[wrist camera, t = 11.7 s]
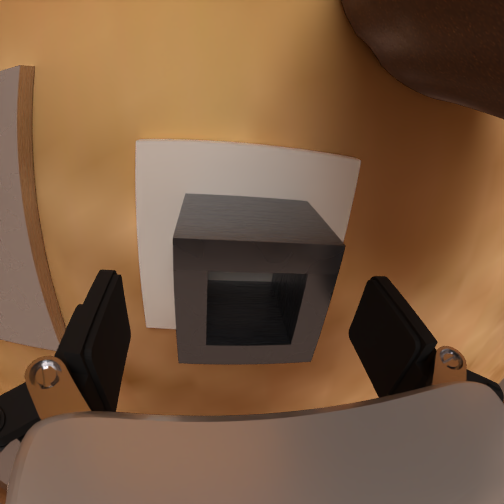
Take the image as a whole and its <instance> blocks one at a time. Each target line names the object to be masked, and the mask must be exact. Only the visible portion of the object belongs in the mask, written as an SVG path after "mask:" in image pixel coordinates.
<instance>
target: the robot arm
mask: <svg viewBox="0 0 504 504" xmlns="http://www.w3.org/2000/svg"><path fill="white" fill-rule="evenodd" d="M130 338H131V331H130V325H129V320H128V315H127V309H126V303H125V297H124V290H123V283H122V277H121V275H117V273H116V271H115V270H100V271H99V273H98V274H97V276H96V278H95V280H94V282H93V284H92V286H91V288H90V290H89V292H88V295H87V297H86V299H85V301H84V303H83V304H79V305H78V306H77V307H76V309H75V311H74V313H73V315H72V317H71V319H70V322H69V324H68V326H67V328H66V330H65V333H64V335H63V337H62V339H61V342H60V344H59V346H58V349H57V351H56V354H55V356H54V357H53V356H43V357H40V358H37V359H36V360H34V361H32V363H31V364H30V365H29V366H28V367H27V369H26V372H25V383H23V384H21V385H19V386H18V387H16V388H14V389H12V390H10V391H8V392H6V393H4V394H2V395H1V396H0V504H504V396H503V392H502V390H501V388H500V386H499V385H498V384H497V383H495V382H493V381H491V380H489V379H487V378H485V377H482V376H480V375H478V374H476V373H474V372H471V371H469V370H467V364H466V360H465V358H464V356H463V355H462V354H461V353H460V352H459V351H458V350H456V349H454V348H453V347H449V346H442V347H440V348H438V349H437V350H436V349H435V348H434V347H435V346H436V344H437V340H436V339H435V338H434V336H433V335H432V334H431V332H430V331H429V330H428V328H427V327H426V326H425V324H424V323H423V322H422V320H421V319H420V318H419V316H418V315H417V314H416V313H415V311H414V310H413V309H412V307H411V306H410V305H409V304H408V302H407V301H406V300H405V299H404V297H403V296H402V295H401V294H400V292H399V291H398V290H397V289H396V287H395V286H394V285H393V284H392V283H391V281H390V280H389V279H388V278H387V277H385V276H374V277H372V278H371V279H370V280H368V282H367V284H366V286H365V289H364V292H363V295H362V298H361V300H360V303H359V306H358V308H357V311H356V314H355V316H354V319H353V321H352V324H351V326H350V329H349V338H350V340H351V342H352V344H353V346H354V348H355V350H356V352H357V354H358V356H359V358H360V360H361V362H362V364H363V366H364V368H365V370H366V372H367V374H368V376H369V378H370V380H371V382H372V384H373V386H374V389H375V391H376V393H377V395H378V397H379V398H376V399H371V400H366V401H361V402H355V403H349V404H344V405H337V406H331V407H324V408H317V409H309V410H301V411H291V412H281V413H269V414H253V415H230V416H183V415H155V414H139V413H124V412H116V408H117V402H118V397H119V391H120V386H121V381H122V376H123V371H124V366H125V361H126V357H127V352H128V348H129V343H130ZM8 483H9V485H8ZM7 485H8V490H7Z"/></svg>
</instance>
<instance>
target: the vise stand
mask: <svg viewBox="0 0 504 504" xmlns="http://www.w3.org/2000/svg"><path fill="white" fill-rule="evenodd" d="M34 69H35V66H24V65H19V66H15V67H12V68H9V69H6V70H2V71H0V339H1V340H5V341H10V342H14V343H18V344H23V345H28V346H33V347H38V348H43V349H48V350H54V351H57V349H58V346H59V344H60V342H61V339H62V337H63V335H64V333H65V330H66V328H65V325H64V322H63V318H62V315H61V312H60V309H59V305H58V302H57V298H56V295H55V291H54V287H53V284H52V280H51V276H50V272H49V267H48V263H47V258H46V254H45V249H44V244H43V239H42V233H41V227H40V221H39V214H38V207H37V200H36V191H35V181H34V169H33V153H32V96H33V81H34Z"/></svg>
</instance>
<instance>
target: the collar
mask: <svg viewBox="0 0 504 504" xmlns="http://www.w3.org/2000/svg"><path fill="white" fill-rule="evenodd" d="M344 250H345V244H344V243H343V242H342V241H341V240H340V238H339V237H338V236H337V235H336V234H335V232H334V231H333V230H332V229H331V228H330V227H329V225H328V224H327V223H326V222H325V221H324V220H323V218H322V217H321V216H320V215H319V214H318V213H317V211H316V210H315V209H314V208H313V207H312V206H311V205H310V203H309V202H308V201H301V200H289V199H277V198H263V197H248V196H231V195H212V194H188V193H185V197H184V200H183V203H182V207H181V210H180V213H179V217H178V220H177V224H176V228H175V231H174V235H173V278H174V302H175V320H176V335H177V348H178V360H179V363H187V364H275V363H296V362H311V360H312V357H313V354H314V351H315V348H316V345H317V342H318V339H319V336H320V333H321V330H322V326H323V323H324V320H325V317H326V314H327V310H328V307H329V304H330V300H331V297H332V294H333V290H334V287H335V283H336V280H337V276H338V272H339V269H340V265H341V261H342V258H343V254H344ZM208 271H222V272H254V273H273V275H272V281H271V282H265V281H225V280H208Z"/></svg>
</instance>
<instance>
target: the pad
mask: <svg viewBox="0 0 504 504" xmlns="http://www.w3.org/2000/svg"><path fill="white" fill-rule="evenodd" d="M360 164H361V160H359V159H357V158H355V157H350V156H344V155H338V154H332V153H325V152H319V151H312V150H305V149H297V148H289V147H280V146H271V145H262V144H251V143H239V142H225V141H208V140H183V139H139V140H137V141H136V168H135V176H136V219H137V238H138V253H139V266H140V277H141V287H142V296H143V305H144V313H145V320H146V327H147V328H163V329H176V320H175V302H174V278H173V235H174V231H175V228H176V224H177V220H178V217H179V213H180V210H181V207H182V203H183V200H184V197H185V193H188V194H212V195H231V196H248V197H263V198H277V199H289V200H301V201H308V202H309V203H310V205H311V206H312V207H313V208H314V209H315V210H316V211H317V213H318V214H319V215H320V216H321V217H322V218H323V220H324V221H325V222H326V223H327V224H328V225H329V227H330V228H331V229H332V230H333V231H334V232H335V234H336V235H337V236H338V237H339V238H340V240H341V241H342V242H344V238H345V233H346V229H347V225H348V221H349V217H350V212H351V208H352V203H353V199H354V194H355V189H356V185H357V180H358V175H359V170H360ZM272 275H273V273H254V272H222V271H208V280H225V281H265V282H271V281H272Z"/></svg>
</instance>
